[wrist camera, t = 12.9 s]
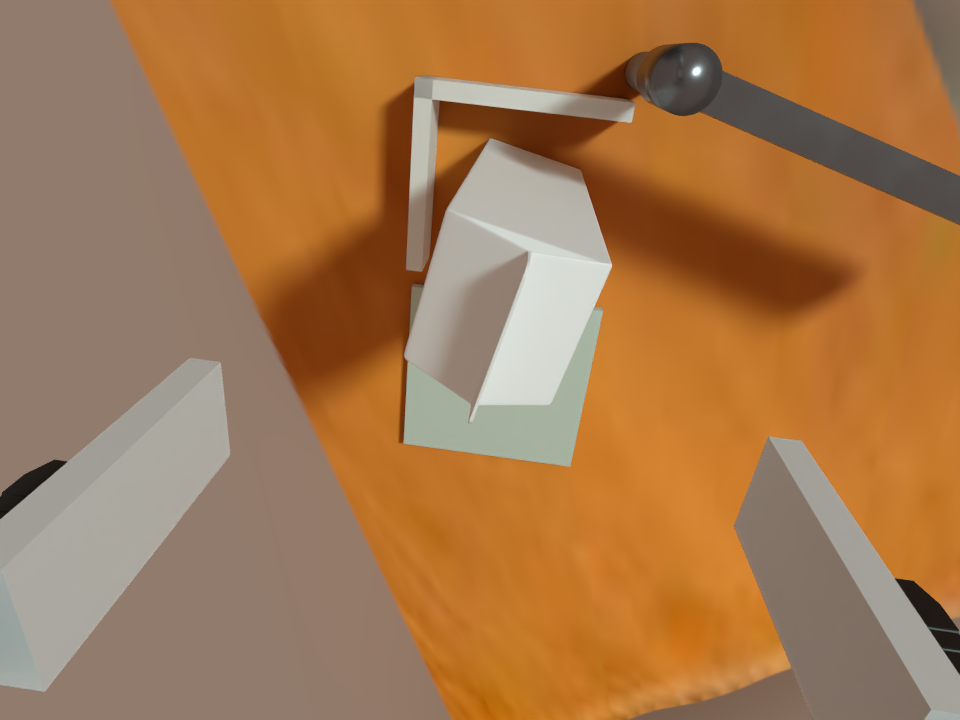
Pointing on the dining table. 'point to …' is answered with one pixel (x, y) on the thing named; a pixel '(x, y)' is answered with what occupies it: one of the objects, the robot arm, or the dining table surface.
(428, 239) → the bracket
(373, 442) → the dining table surface
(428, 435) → the mat
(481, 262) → the milk
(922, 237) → the dining table surface
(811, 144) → the dark grey metallic bar
